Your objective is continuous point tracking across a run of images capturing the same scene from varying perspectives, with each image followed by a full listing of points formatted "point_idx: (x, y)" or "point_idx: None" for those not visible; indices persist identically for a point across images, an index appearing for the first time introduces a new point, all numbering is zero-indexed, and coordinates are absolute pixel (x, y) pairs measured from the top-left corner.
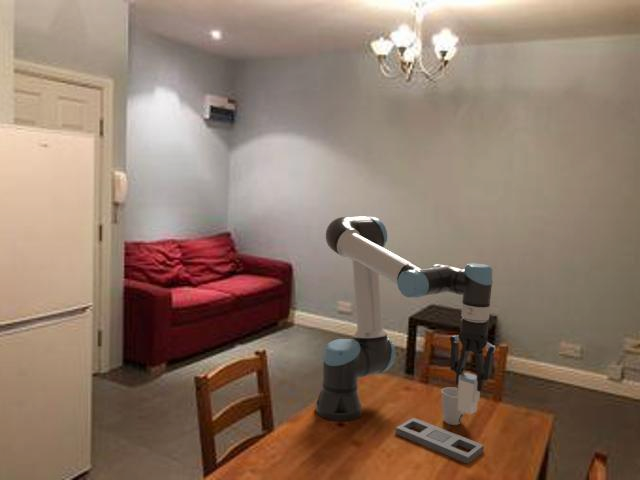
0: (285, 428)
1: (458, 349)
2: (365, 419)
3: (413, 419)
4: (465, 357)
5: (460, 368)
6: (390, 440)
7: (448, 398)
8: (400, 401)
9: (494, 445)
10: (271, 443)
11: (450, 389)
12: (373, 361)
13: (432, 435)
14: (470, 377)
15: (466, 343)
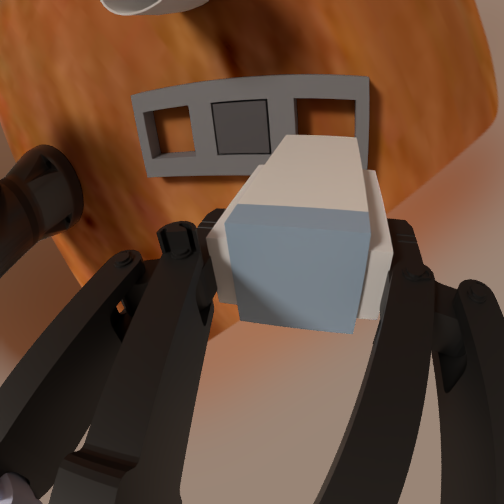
0: (82, 283)
1: (32, 408)
2: (86, 170)
3: (137, 104)
4: (176, 433)
5: (202, 343)
6: (172, 204)
7: (148, 12)
8: (60, 37)
9: (371, 18)
10: None
11: None
12: None
13: (227, 139)
14: (311, 305)
15: None
